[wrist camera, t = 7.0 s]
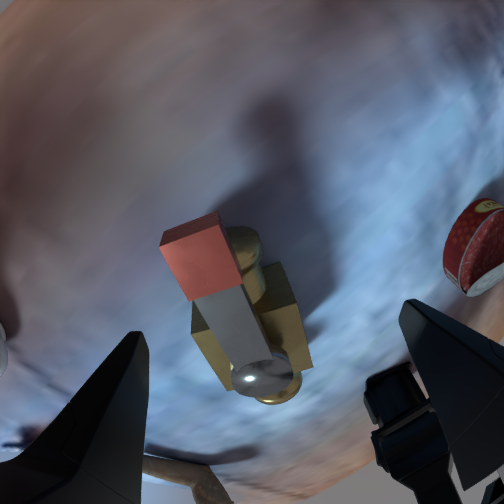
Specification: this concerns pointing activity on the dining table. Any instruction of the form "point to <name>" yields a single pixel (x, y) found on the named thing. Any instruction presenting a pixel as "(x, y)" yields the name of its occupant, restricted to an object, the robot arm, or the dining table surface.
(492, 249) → the canned food
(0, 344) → the flower vase
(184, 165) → the dining table surface
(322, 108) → the dining table surface
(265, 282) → the valve
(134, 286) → the dining table surface
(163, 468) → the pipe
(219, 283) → the lever
